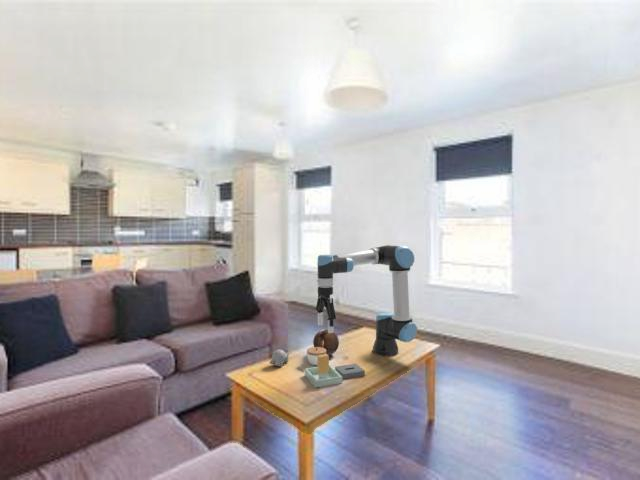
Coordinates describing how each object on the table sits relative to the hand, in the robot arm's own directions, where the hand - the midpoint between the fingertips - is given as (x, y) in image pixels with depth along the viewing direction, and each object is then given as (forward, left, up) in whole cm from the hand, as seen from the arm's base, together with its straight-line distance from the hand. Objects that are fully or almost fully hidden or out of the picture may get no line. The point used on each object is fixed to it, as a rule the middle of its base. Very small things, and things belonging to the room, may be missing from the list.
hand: (325, 328), depth 179 cm
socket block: (-13, 0, -25) cm, 28 cm away
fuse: (+2, +1, -24) cm, 24 cm away
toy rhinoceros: (+16, -25, -25) cm, 39 cm away
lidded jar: (-2, -19, -25) cm, 32 cm away
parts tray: (+2, +1, -25) cm, 25 cm away
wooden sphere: (-12, -30, -25) cm, 41 cm away
